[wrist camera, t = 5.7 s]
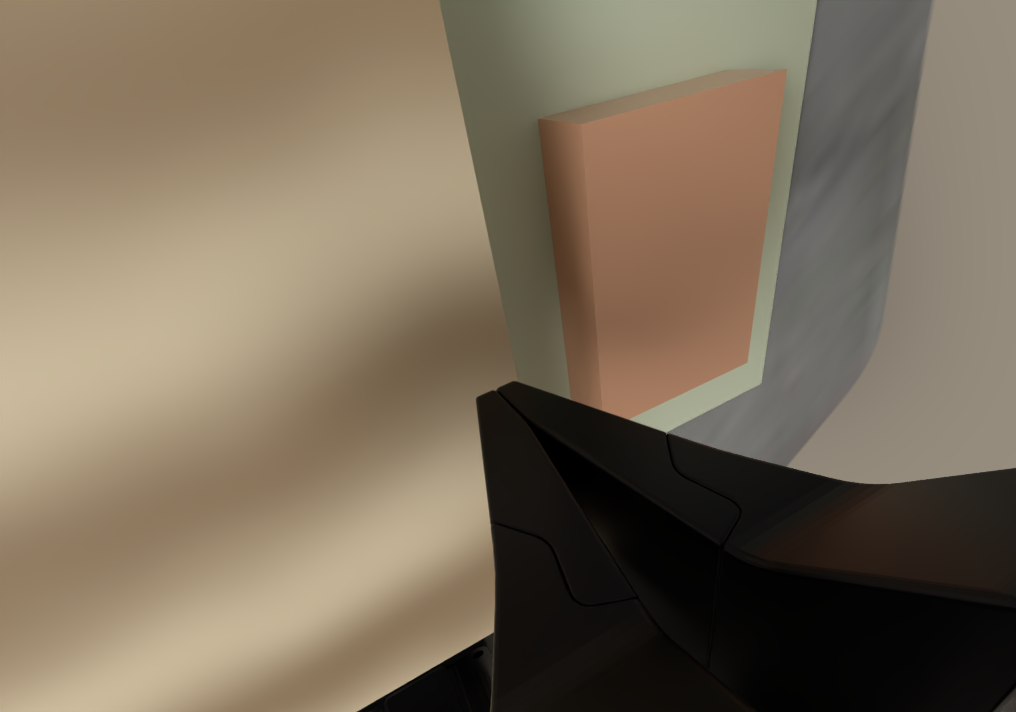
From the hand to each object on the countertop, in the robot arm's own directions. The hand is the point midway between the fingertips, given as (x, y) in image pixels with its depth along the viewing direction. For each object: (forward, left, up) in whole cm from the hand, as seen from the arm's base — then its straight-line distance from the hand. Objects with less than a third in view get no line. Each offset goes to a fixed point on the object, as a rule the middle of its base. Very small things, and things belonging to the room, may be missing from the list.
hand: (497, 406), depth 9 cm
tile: (-1, -7, -3) cm, 8 cm away
